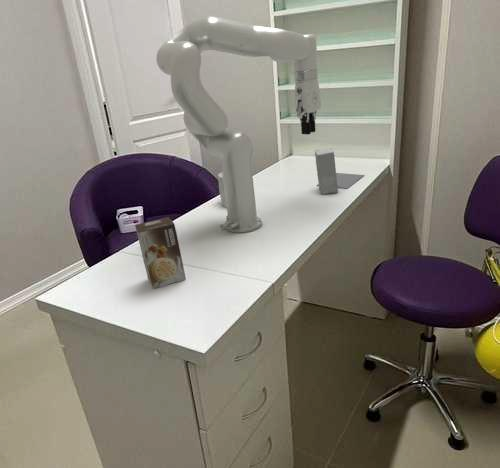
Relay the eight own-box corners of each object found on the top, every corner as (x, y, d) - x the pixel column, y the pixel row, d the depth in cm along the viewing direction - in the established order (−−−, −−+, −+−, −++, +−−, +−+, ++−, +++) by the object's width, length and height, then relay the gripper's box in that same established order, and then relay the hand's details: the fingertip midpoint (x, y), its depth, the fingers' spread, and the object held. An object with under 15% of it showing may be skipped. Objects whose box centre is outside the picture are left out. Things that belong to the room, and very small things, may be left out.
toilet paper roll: (257, 198, 165) (254, 169, 161) (242, 209, 156) (239, 178, 151) (231, 196, 171) (228, 168, 166) (215, 206, 162) (211, 177, 157)
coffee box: (180, 270, 117) (169, 215, 110) (186, 279, 111) (175, 223, 105) (147, 279, 114) (134, 224, 107) (151, 289, 108) (138, 232, 102)
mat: (347, 189, 164) (347, 188, 164) (316, 186, 172) (316, 185, 172) (364, 175, 178) (364, 175, 177) (335, 173, 185) (335, 172, 185)
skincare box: (338, 192, 161) (336, 152, 154) (319, 195, 162) (316, 154, 155) (334, 185, 169) (332, 146, 162) (316, 187, 169) (314, 148, 162)
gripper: (304, 78, 130) (307, 138, 138) (327, 72, 142) (328, 128, 150) (283, 79, 135) (287, 137, 142) (307, 74, 146) (309, 128, 154)
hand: (308, 132), depth 146 cm, fingers open, 2 cm apart
